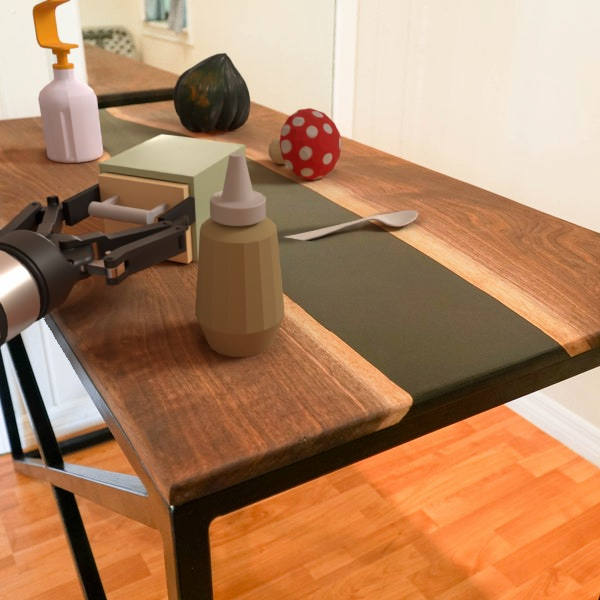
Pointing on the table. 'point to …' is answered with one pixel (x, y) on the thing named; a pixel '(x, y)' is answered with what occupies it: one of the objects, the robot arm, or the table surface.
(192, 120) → the squash
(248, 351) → the squeeze bottle
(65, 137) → the soap bottle
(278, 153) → the decorative mushroom
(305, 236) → the spoon
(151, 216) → the drawer
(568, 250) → the table surface
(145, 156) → the cabinet
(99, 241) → the robot arm
